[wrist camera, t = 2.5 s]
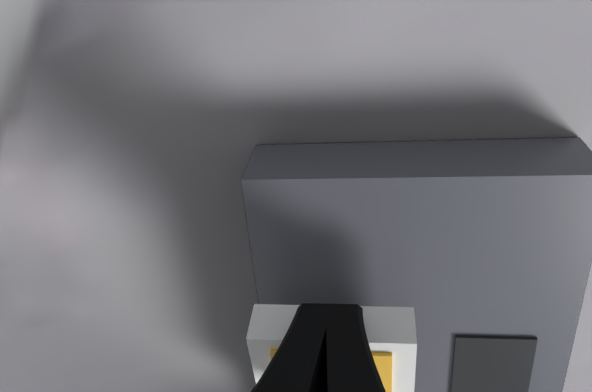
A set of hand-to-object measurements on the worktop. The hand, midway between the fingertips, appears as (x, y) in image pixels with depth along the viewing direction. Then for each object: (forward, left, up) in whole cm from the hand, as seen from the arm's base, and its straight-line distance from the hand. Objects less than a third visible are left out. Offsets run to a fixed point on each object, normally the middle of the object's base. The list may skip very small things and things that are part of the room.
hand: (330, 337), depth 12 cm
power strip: (-7, -2, -4) cm, 9 cm away
